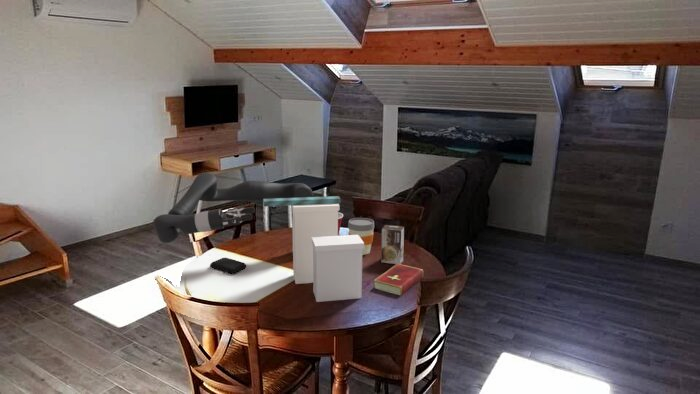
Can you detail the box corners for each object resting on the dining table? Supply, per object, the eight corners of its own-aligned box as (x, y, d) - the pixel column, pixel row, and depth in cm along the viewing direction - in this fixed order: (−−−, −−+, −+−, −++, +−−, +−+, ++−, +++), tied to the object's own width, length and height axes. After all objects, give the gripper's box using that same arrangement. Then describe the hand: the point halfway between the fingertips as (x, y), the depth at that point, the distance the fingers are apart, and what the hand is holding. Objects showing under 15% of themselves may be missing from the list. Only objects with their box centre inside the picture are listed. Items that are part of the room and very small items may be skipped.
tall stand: (294, 284, 188) (293, 207, 180) (292, 274, 197) (290, 200, 189) (338, 281, 191) (339, 205, 184) (334, 271, 201) (334, 199, 193)
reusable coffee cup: (360, 245, 233) (361, 216, 230) (379, 251, 225) (380, 221, 221) (342, 251, 225) (342, 221, 221) (360, 258, 216) (361, 227, 213)
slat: (263, 206, 180) (263, 201, 180) (263, 203, 184) (263, 198, 184) (340, 203, 187) (340, 198, 186) (338, 200, 190) (338, 196, 190)
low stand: (315, 302, 173) (315, 246, 167) (311, 291, 182) (311, 237, 177) (363, 298, 176) (364, 243, 171) (357, 287, 186) (358, 234, 181)
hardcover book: (422, 278, 197) (423, 269, 196) (400, 297, 179) (401, 287, 178) (397, 271, 203) (397, 262, 202) (373, 289, 185) (373, 279, 184)
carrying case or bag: (206, 269, 202) (230, 277, 194) (205, 263, 201) (230, 270, 193) (224, 262, 210) (248, 269, 203) (224, 255, 210) (248, 262, 202)
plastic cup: (320, 239, 241) (320, 216, 238) (324, 232, 252) (324, 211, 249) (341, 240, 239) (341, 218, 237) (344, 234, 250) (345, 212, 247)
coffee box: (403, 260, 215) (405, 226, 211) (400, 265, 209) (401, 230, 205) (384, 257, 218) (385, 224, 214) (380, 262, 212) (381, 228, 208)
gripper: (203, 217, 167) (249, 209, 167) (211, 205, 180) (253, 198, 181) (208, 236, 169) (253, 228, 169) (215, 223, 182) (257, 216, 183)
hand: (253, 212), depth 175 cm, fingers open, 8 cm apart
